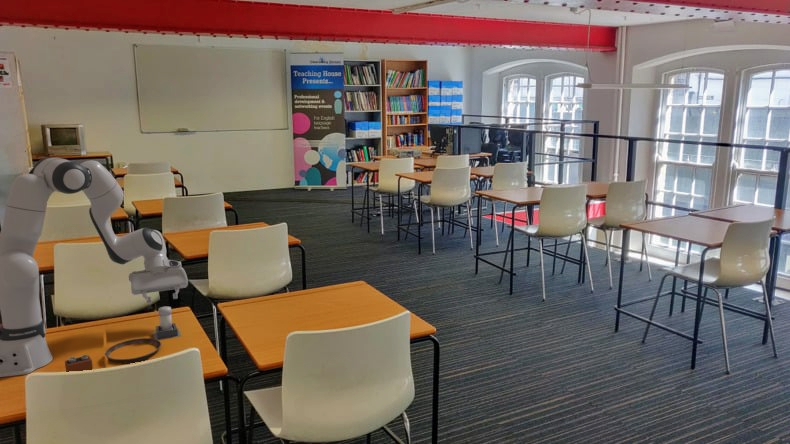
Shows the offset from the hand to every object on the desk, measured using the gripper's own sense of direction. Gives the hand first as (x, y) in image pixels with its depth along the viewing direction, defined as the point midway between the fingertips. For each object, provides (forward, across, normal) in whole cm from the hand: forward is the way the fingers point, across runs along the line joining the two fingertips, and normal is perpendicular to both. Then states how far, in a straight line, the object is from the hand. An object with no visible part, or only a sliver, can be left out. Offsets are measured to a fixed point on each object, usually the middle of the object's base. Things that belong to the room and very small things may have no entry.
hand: (162, 300), depth 223 cm
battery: (+35, -28, -17) cm, 48 cm away
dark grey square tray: (+13, 0, +4) cm, 14 cm away
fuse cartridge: (+13, 0, +3) cm, 13 cm away
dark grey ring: (+22, -12, -4) cm, 26 cm away
